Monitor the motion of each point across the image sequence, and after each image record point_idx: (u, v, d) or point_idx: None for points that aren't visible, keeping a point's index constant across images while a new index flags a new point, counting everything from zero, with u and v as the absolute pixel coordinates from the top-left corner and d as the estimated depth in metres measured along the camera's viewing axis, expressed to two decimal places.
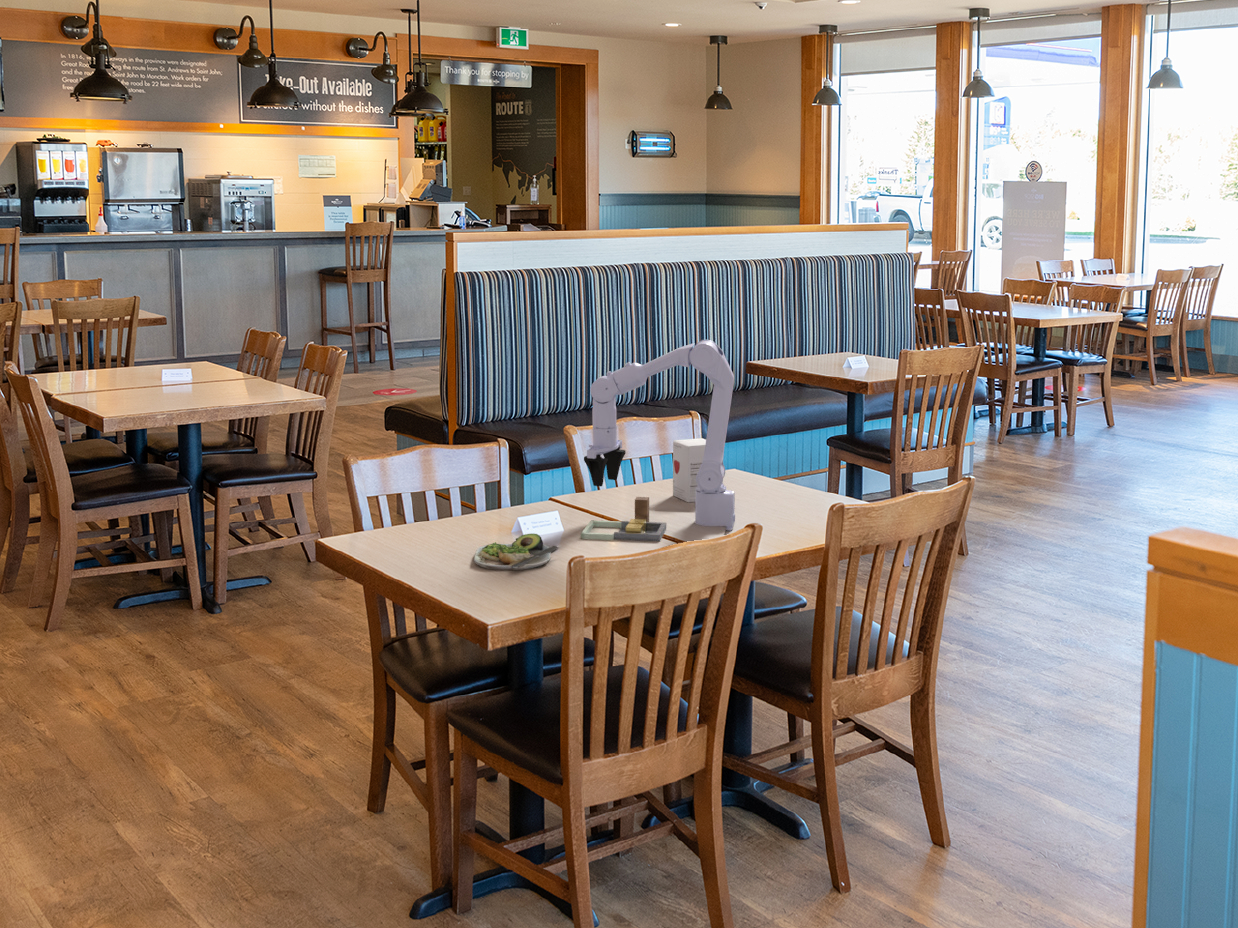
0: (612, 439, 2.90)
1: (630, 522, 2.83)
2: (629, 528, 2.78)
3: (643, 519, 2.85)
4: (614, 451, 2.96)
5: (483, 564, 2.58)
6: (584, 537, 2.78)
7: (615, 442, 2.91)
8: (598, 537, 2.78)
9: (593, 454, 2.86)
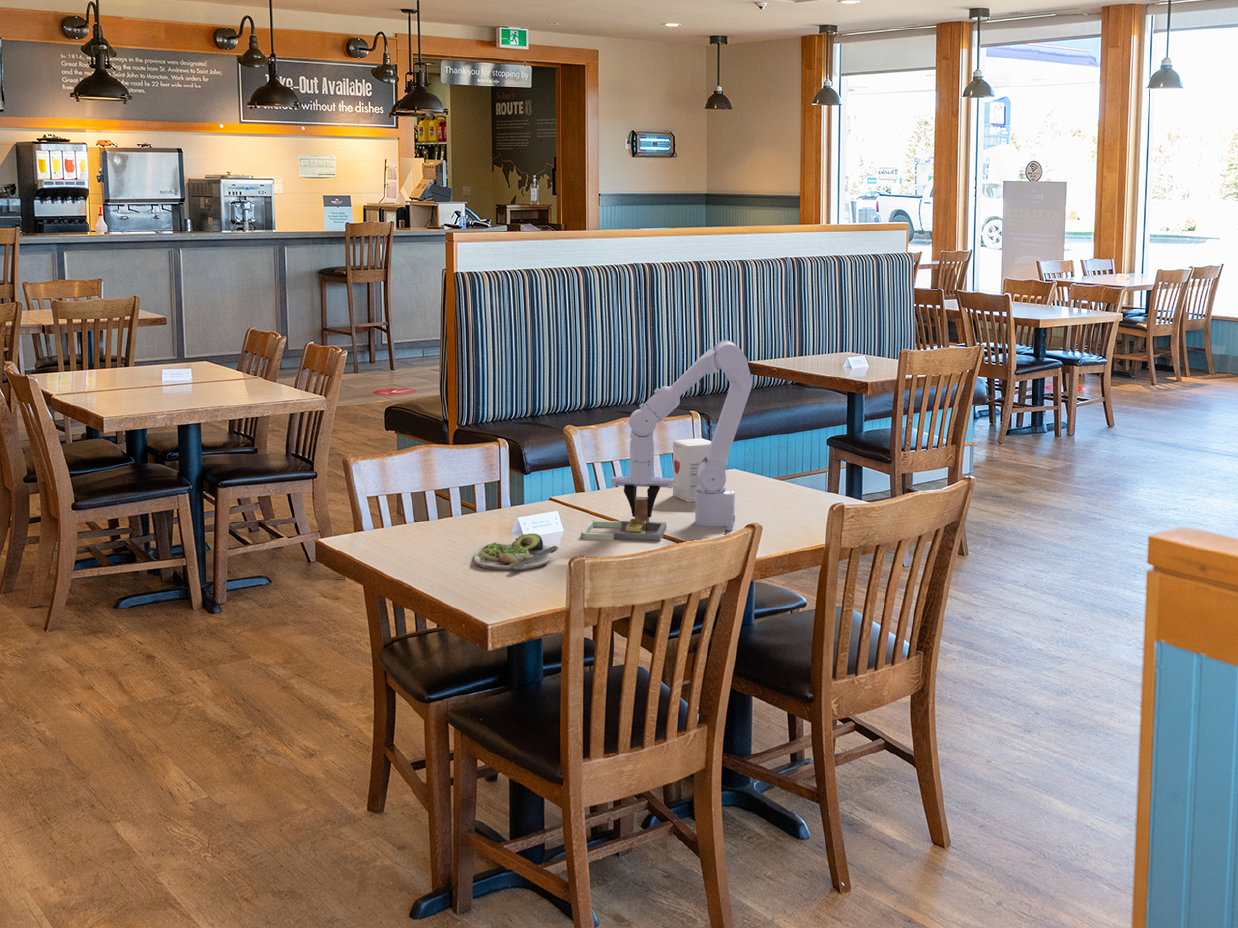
0: (635, 473, 2.88)
1: (630, 522, 2.83)
2: (629, 528, 2.78)
3: (643, 519, 2.85)
4: (648, 488, 2.90)
5: (483, 564, 2.58)
6: (584, 537, 2.78)
7: (640, 477, 2.87)
8: (598, 537, 2.78)
9: (611, 481, 2.91)
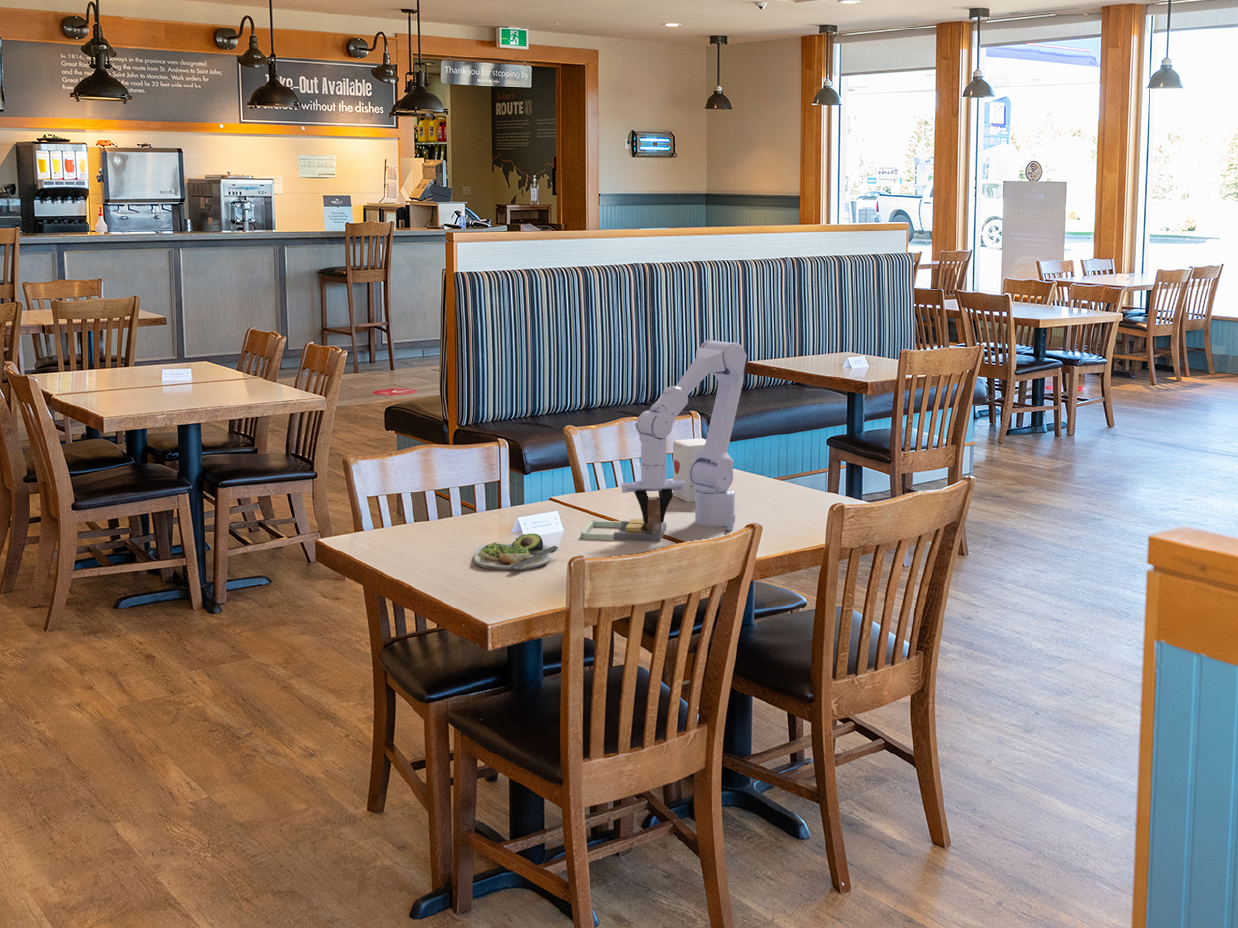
0: (650, 478, 2.76)
1: (630, 522, 2.83)
2: (629, 528, 2.78)
3: None
4: (661, 492, 2.79)
5: (483, 564, 2.58)
6: (584, 537, 2.78)
7: (656, 481, 2.76)
8: (598, 537, 2.78)
9: (622, 488, 2.78)
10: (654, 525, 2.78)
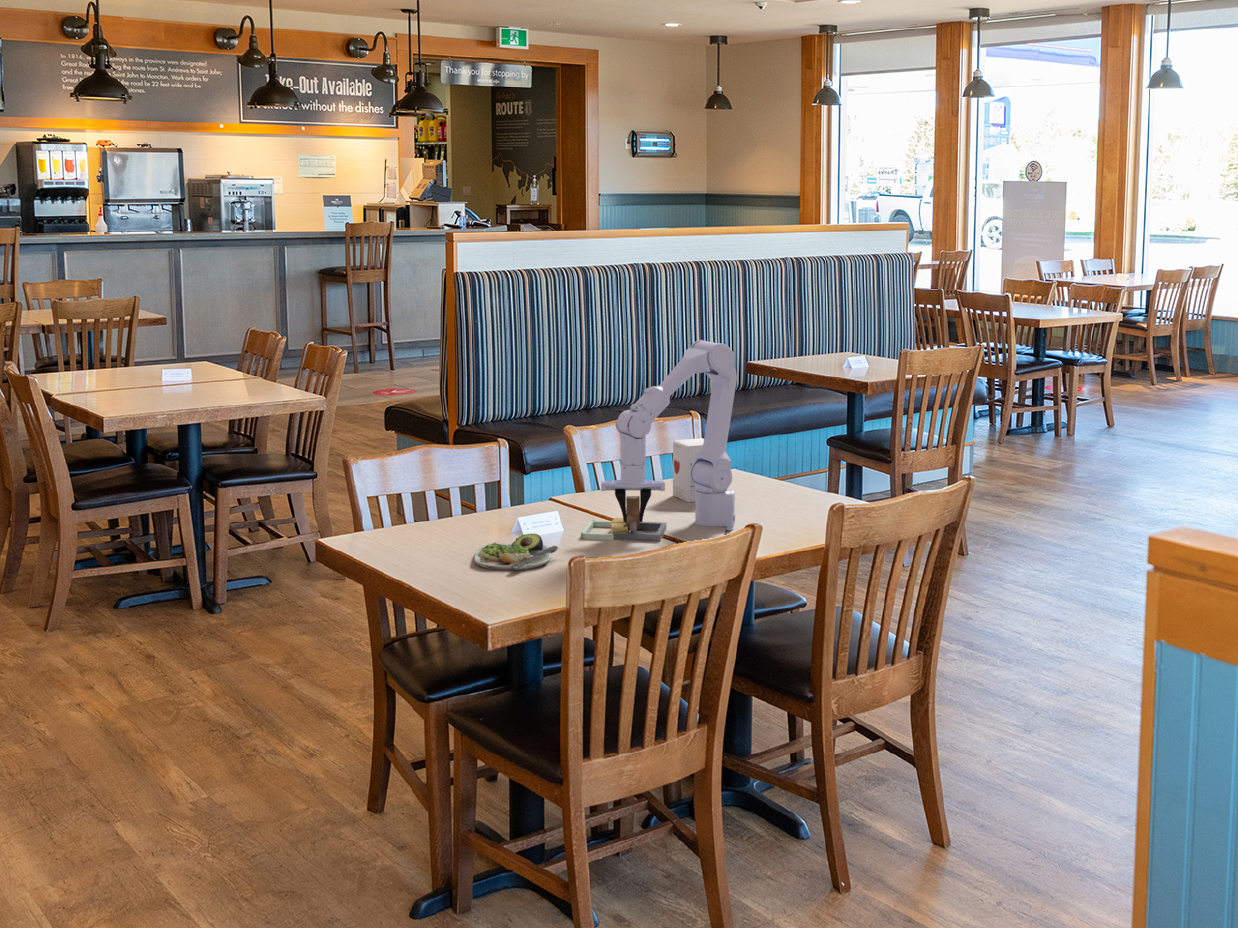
0: (628, 477, 2.77)
1: (612, 521, 2.84)
2: (616, 528, 2.78)
3: None
4: (640, 491, 2.80)
5: (483, 564, 2.58)
6: (584, 537, 2.78)
7: (633, 481, 2.77)
8: (598, 537, 2.78)
9: (601, 486, 2.80)
10: (631, 524, 2.78)
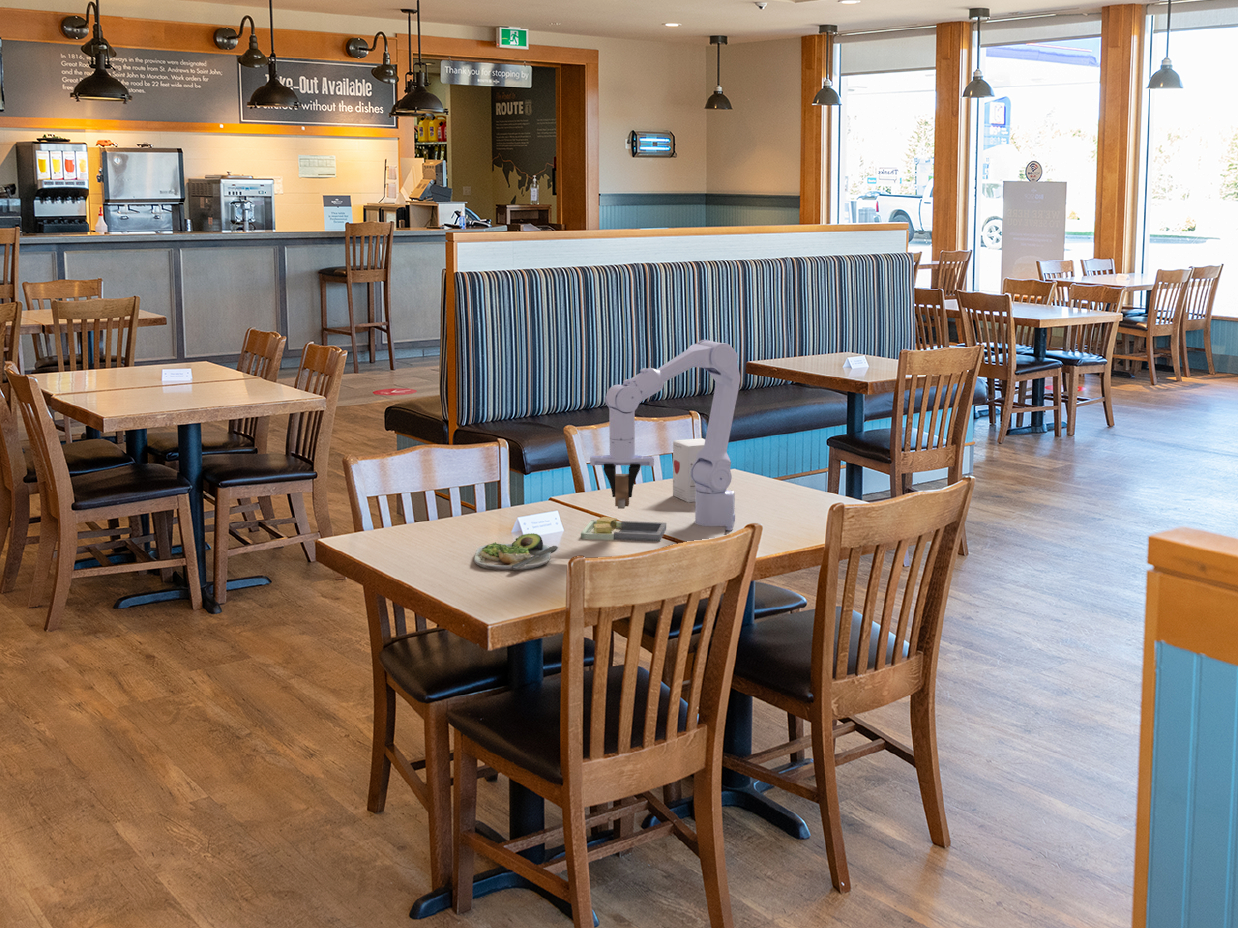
0: (616, 451, 2.77)
1: (598, 520, 2.85)
2: (600, 528, 2.79)
3: (613, 518, 2.87)
4: (629, 467, 2.79)
5: (483, 564, 2.58)
6: (584, 537, 2.78)
7: (621, 455, 2.76)
8: (598, 537, 2.78)
9: (590, 461, 2.79)
10: (619, 501, 2.78)
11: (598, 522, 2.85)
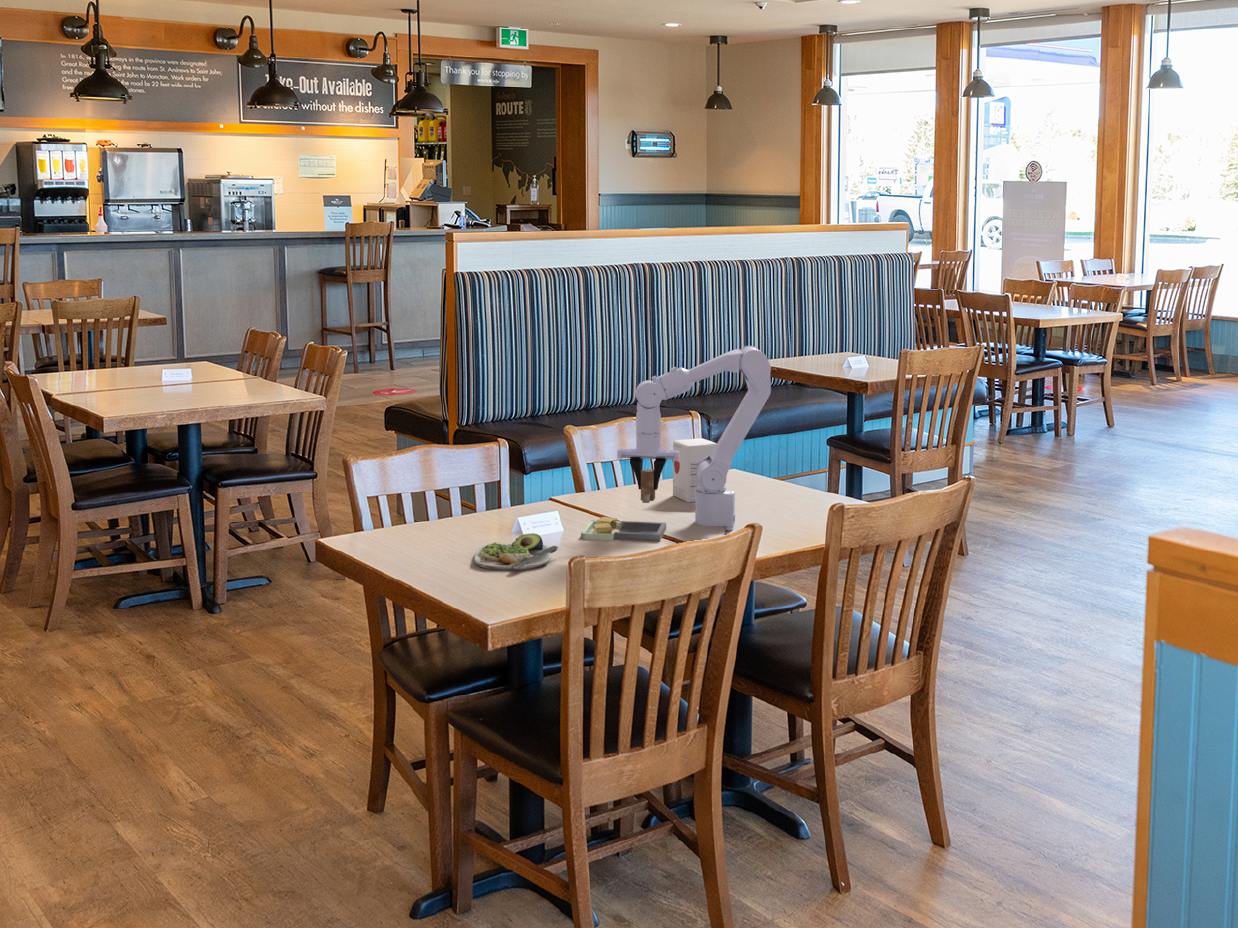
0: (642, 445, 2.86)
1: (598, 520, 2.85)
2: (600, 528, 2.79)
3: (613, 518, 2.87)
4: (655, 460, 2.88)
5: (483, 564, 2.58)
6: (584, 537, 2.78)
7: (647, 449, 2.86)
8: (598, 537, 2.78)
9: None
10: (643, 496, 2.87)
11: (598, 522, 2.85)
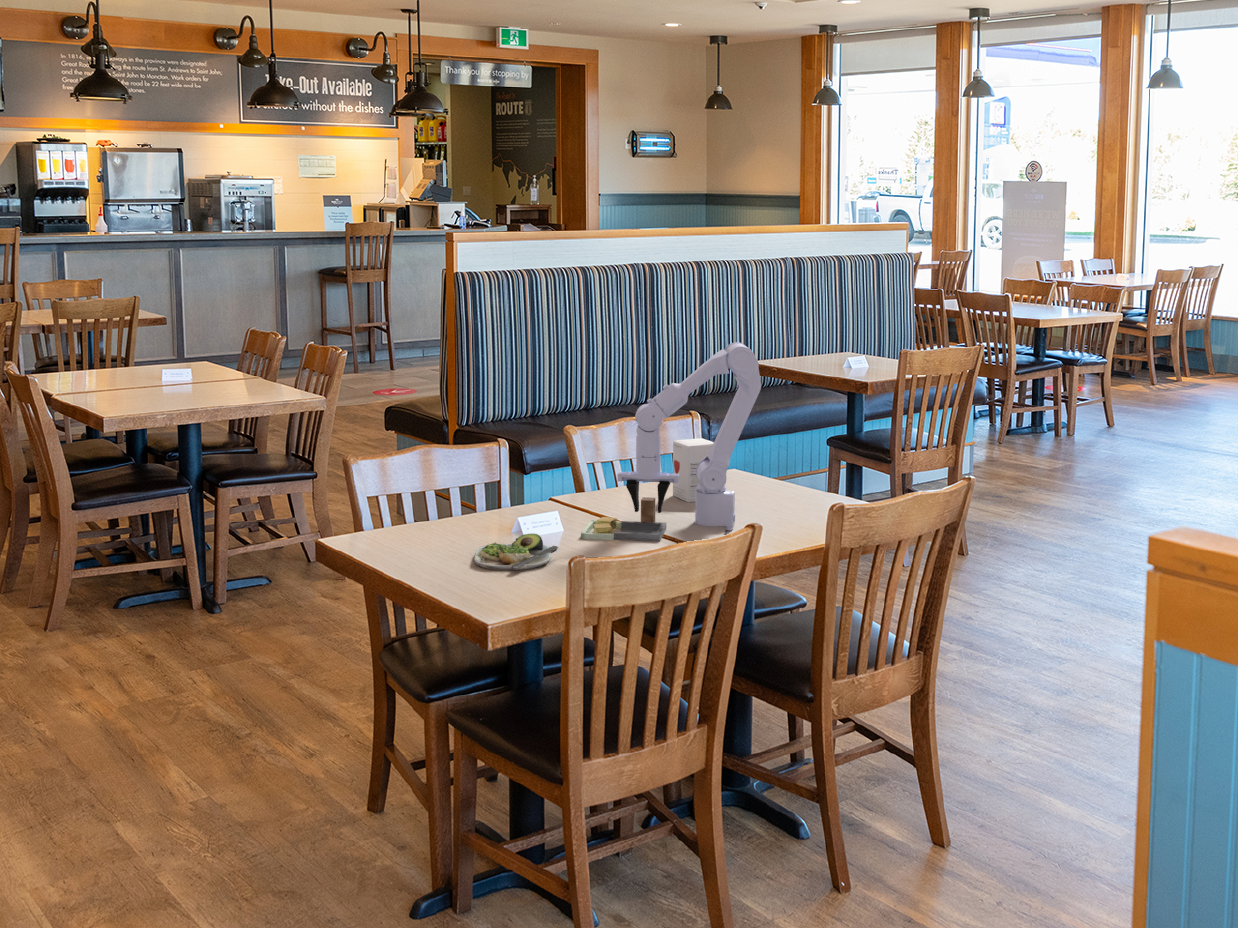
0: (642, 468, 2.87)
1: (598, 520, 2.85)
2: (600, 528, 2.79)
3: (613, 518, 2.87)
4: (659, 483, 2.89)
5: (483, 564, 2.58)
6: (584, 537, 2.78)
7: (647, 472, 2.87)
8: (598, 537, 2.78)
9: None
10: None
11: (598, 522, 2.85)
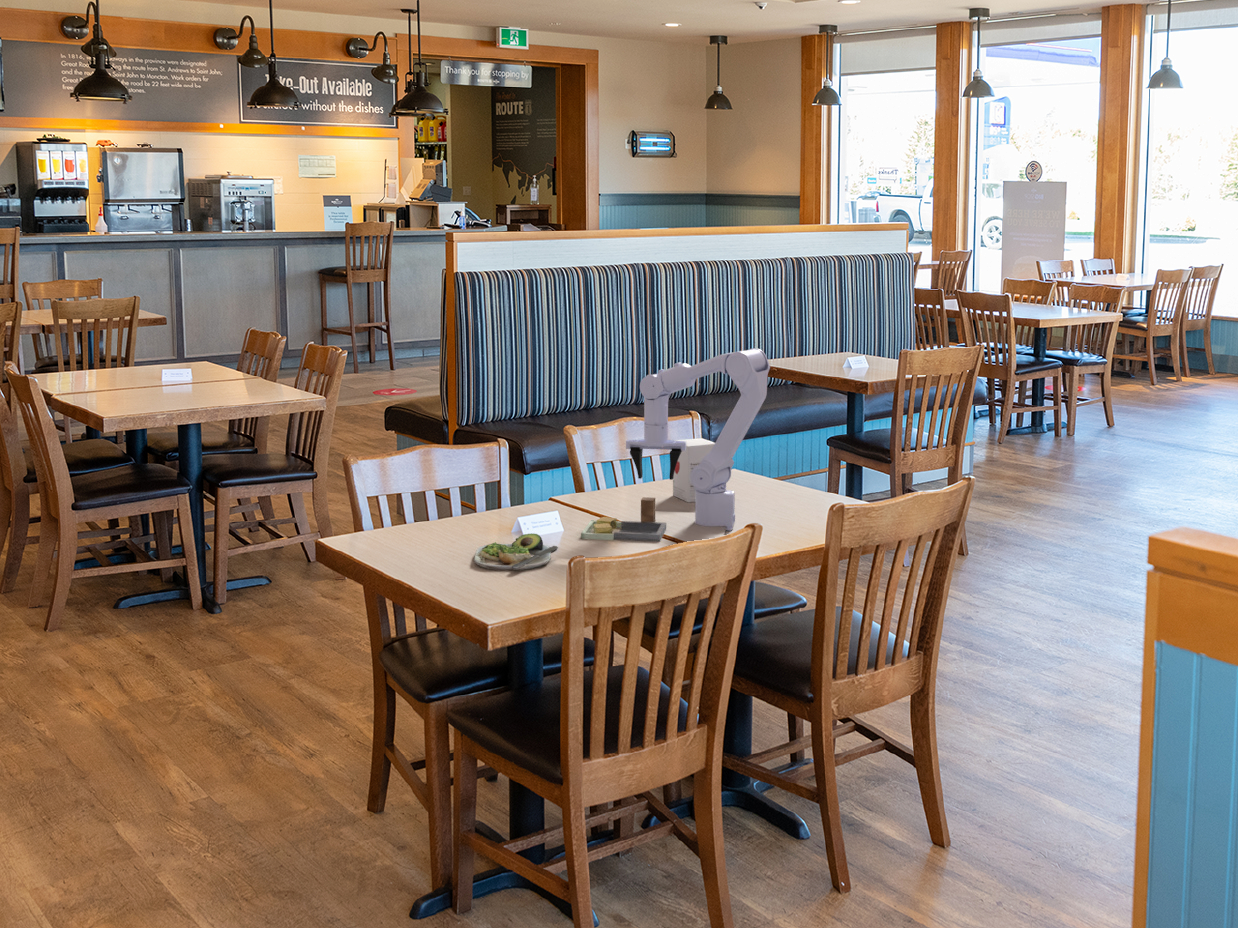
0: (649, 436, 2.95)
1: (598, 520, 2.85)
2: (600, 528, 2.79)
3: (613, 518, 2.87)
4: (671, 451, 2.96)
5: (483, 564, 2.58)
6: (584, 537, 2.78)
7: (654, 440, 2.94)
8: (598, 537, 2.78)
9: (626, 444, 2.98)
10: None
11: (598, 522, 2.85)
